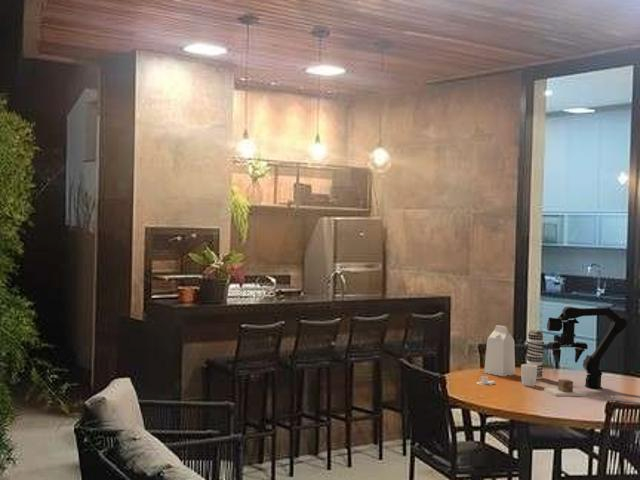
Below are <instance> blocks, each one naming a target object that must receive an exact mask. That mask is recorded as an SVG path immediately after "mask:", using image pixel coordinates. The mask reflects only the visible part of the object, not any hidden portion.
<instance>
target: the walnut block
mask: <svg viewBox="0 0 640 480" xmlns="http://www.w3.org/2000/svg"><path fill="white" fill-rule="evenodd" d="M557 383H558V385H557V388H558V390H560V391H562V392H573V388H574V381H572V380H570V379H558V382H557Z"/></svg>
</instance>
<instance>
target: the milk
mask: <svg viewBox="0 0 640 480" xmlns="http://www.w3.org/2000/svg"><path fill="white" fill-rule="evenodd" d="M486 339H487V340H486V349H485V360H484V361H485V362H484V370H483V373H484V374H486V373H488V374H487V375H492V374H493V376H497V375H498V376H499V377H507V375H509V376H513V374H514V375H516V366H515V365H516V362H515V361H516V360H515V358H516V357H515V356H516V355H515V350H516V349H515V339H514V338H513V336H512V335H511V333H510V332H509V329H508V327H507V326H506V325H497V324H496V325H495V327H494V329H493V331H492V332H491V333H490V334H489V336H488V338H486Z"/></svg>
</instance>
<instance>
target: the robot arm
mask: <svg viewBox="0 0 640 480" xmlns="http://www.w3.org/2000/svg"><path fill="white" fill-rule="evenodd" d="M561 312H562V313H560V315H559V316H558V317H548V319H547V323H546V328H547V331H548V332H560V331H562V332H561V334H560V335H559V334H555V335H553V341H549V342H548V345H547V346H548V347H547V348H549V349H551V350H552V351H553V352H554V354H555V357H556V360H557V363H560V362H561V354H562V349H561V348H574V352H575V355H574V361H575V362H574V363H575V364H577V363H578V361H579V359H580V358H581V356H582V354H583V353H584V352H585V351H586V350H588V346H589V345H588V343H586V342H583V341H576V342H575V337H577V336H576V335H577V334H576V333H575V330H576V329H575V328H576V326H575V325H576V324H580V321H578V319H577V318H580V317H594V316H605V317H606V318H607V319H608V320H609V321H610V324H609V327H608V331H607V332H606V334H605V335H604V336H603V339H602V340H601V342H600V343H599V344H598V346H597V348H596V349H595V350H594V352H593V353H592V354H591V355H589V354H587V355H586V357H585V359H584V360H583V361H582V368H583V370H585V371H586V377H585V384H584V387H586V388H589V389H603V387H602V375H603V372H602V371H601V370H600V369H599V367H600V365H601V361H602V358H603V356H604V355H605V353H606V352H607V350H608V349H609V347H610V346H611V344H612V342H614V341H615V338H616V337H617V336H618V335H620V333H622V332H623V331H624V330H625V329H626V328H627V326H628V321H627V319H625V318H624V317H621V316H619V314H617V313H616V312H614V311H613V310H612V309H611V308H610V307H607V306H605V307H604V306H603V307H585V308H584V307H583V308H582V307H575V306H565V307H564V308H563V309H562V311H561Z"/></svg>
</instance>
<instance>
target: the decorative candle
mask: <svg viewBox="0 0 640 480" xmlns="http://www.w3.org/2000/svg"><path fill="white" fill-rule="evenodd" d="M527 334H528V338H527V340H526V350H527V351H526V356H527V360H526V364H532V365H537V376H536V380H541V379H543V373H544V371H543V370H544V369H543V366H544V365H543V357H544V355H543V354H545V353H544V347H545V342H544V333H543V332H542V331H541V330H535V329H534V330H533V329H531V330H529V332H528V333H527Z"/></svg>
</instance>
